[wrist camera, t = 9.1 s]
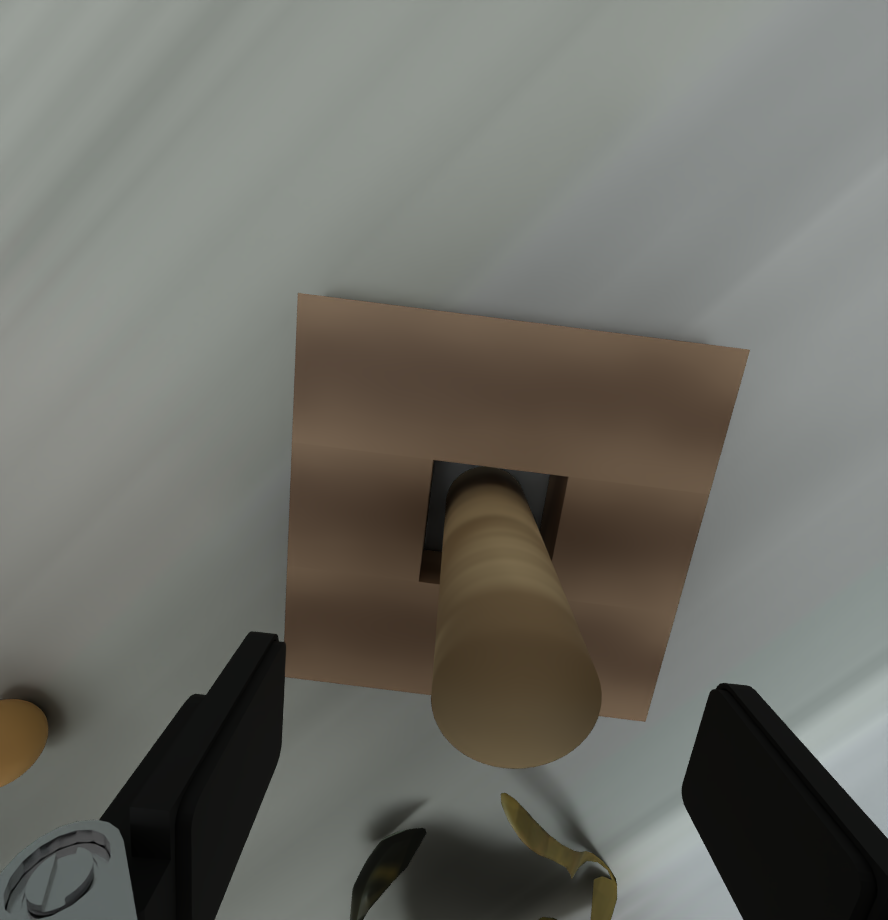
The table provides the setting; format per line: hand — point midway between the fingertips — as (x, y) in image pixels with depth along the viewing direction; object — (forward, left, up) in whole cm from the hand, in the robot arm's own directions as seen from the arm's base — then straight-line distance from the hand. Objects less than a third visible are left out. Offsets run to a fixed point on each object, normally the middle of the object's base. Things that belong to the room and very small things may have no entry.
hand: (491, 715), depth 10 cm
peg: (+1, 0, -12) cm, 12 cm away
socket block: (+1, -1, -12) cm, 12 cm away
